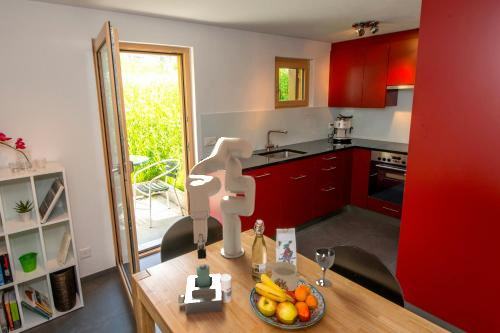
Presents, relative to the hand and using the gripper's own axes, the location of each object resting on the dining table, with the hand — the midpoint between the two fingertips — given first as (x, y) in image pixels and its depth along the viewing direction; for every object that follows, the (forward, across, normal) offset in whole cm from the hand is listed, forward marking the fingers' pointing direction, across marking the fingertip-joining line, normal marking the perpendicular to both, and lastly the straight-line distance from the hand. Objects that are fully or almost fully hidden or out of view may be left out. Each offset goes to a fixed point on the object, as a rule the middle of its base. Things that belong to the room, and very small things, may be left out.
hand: (202, 251), depth 125 cm
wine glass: (+22, -3, +53) cm, 57 cm away
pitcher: (+21, +5, +34) cm, 40 cm away
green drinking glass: (+16, +1, 0) cm, 16 cm away
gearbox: (+21, +1, -2) cm, 21 cm away
